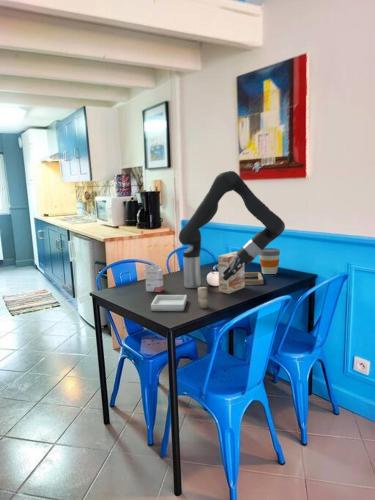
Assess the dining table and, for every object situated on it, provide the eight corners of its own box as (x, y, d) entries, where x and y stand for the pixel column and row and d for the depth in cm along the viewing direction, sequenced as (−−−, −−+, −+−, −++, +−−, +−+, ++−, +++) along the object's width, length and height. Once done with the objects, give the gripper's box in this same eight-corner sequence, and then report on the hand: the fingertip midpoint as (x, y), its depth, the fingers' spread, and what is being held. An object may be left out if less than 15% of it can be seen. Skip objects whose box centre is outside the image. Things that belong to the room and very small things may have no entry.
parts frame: (228, 276, 230) (228, 272, 230) (260, 276, 228) (260, 272, 228) (228, 284, 211) (228, 280, 211) (263, 284, 209) (263, 280, 209)
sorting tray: (156, 300, 187) (156, 295, 186) (186, 300, 185) (186, 294, 185) (151, 310, 172) (150, 304, 171) (183, 310, 170) (183, 304, 170)
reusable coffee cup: (255, 272, 238) (255, 249, 235) (271, 270, 243) (271, 247, 240) (267, 276, 226) (267, 252, 224) (284, 274, 232) (284, 250, 229)
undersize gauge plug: (198, 305, 177) (198, 287, 176) (207, 305, 177) (207, 286, 175) (197, 308, 173) (197, 289, 171) (207, 308, 172) (206, 289, 171)
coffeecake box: (229, 293, 194) (228, 257, 191) (218, 291, 199) (217, 255, 196) (245, 287, 205) (245, 252, 202) (234, 285, 210) (234, 251, 206)
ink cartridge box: (163, 289, 206) (162, 263, 203) (160, 292, 201) (158, 265, 199) (149, 288, 209) (148, 263, 206) (145, 291, 204) (144, 265, 202)
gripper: (242, 243, 175) (218, 268, 178) (244, 248, 161) (218, 275, 164) (254, 254, 175) (229, 278, 179) (256, 260, 162) (230, 286, 165)
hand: (224, 277), depth 171 cm, fingers open, 8 cm apart
